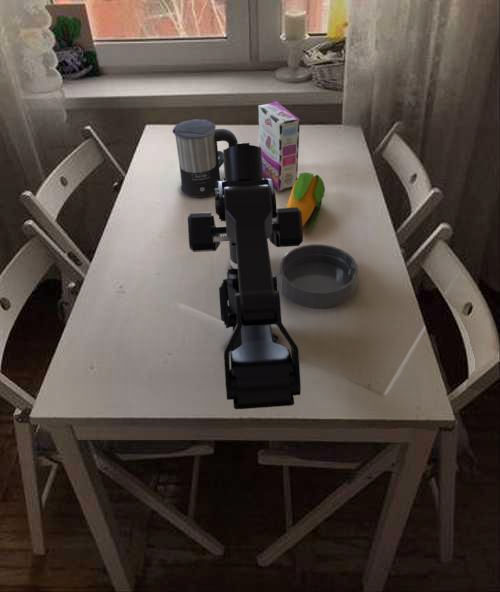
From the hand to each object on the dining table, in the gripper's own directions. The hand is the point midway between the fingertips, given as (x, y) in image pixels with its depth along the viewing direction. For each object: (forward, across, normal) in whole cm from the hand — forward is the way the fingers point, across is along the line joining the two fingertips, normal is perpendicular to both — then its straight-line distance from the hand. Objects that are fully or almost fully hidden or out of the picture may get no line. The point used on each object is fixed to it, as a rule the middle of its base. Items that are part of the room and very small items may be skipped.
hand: (244, 238), depth 102 cm
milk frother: (+32, +8, -20) cm, 38 cm away
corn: (+18, -13, -7) cm, 24 cm away
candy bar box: (+30, -10, -19) cm, 37 cm away
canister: (+7, 0, +5) cm, 8 cm away
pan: (+3, -13, +9) cm, 16 cm away
